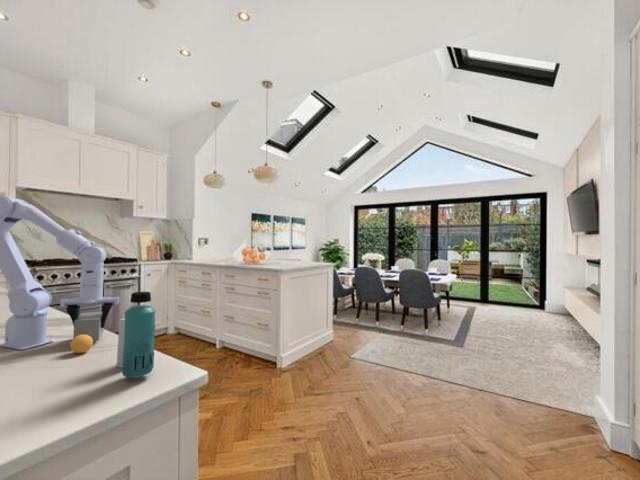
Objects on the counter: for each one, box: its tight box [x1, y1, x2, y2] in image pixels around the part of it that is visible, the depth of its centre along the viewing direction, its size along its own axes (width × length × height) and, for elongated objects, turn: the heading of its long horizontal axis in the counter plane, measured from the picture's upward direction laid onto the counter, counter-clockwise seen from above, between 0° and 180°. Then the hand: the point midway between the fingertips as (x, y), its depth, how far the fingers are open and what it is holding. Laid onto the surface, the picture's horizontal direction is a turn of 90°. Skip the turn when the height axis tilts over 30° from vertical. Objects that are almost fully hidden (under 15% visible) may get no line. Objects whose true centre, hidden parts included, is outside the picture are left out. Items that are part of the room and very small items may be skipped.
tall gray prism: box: [72, 311, 105, 342], centre depth 94 cm, size 10×6×6 cm, turn 29°
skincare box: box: [116, 317, 125, 368], centre depth 78 cm, size 6×4×12 cm
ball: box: [69, 334, 94, 354], centre depth 84 cm, size 5×5×5 cm
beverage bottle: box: [121, 291, 157, 378], centre depth 70 cm, size 6×7×20 cm
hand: (89, 328), depth 94 cm, fingers closed on tall gray prism, 6 cm apart
